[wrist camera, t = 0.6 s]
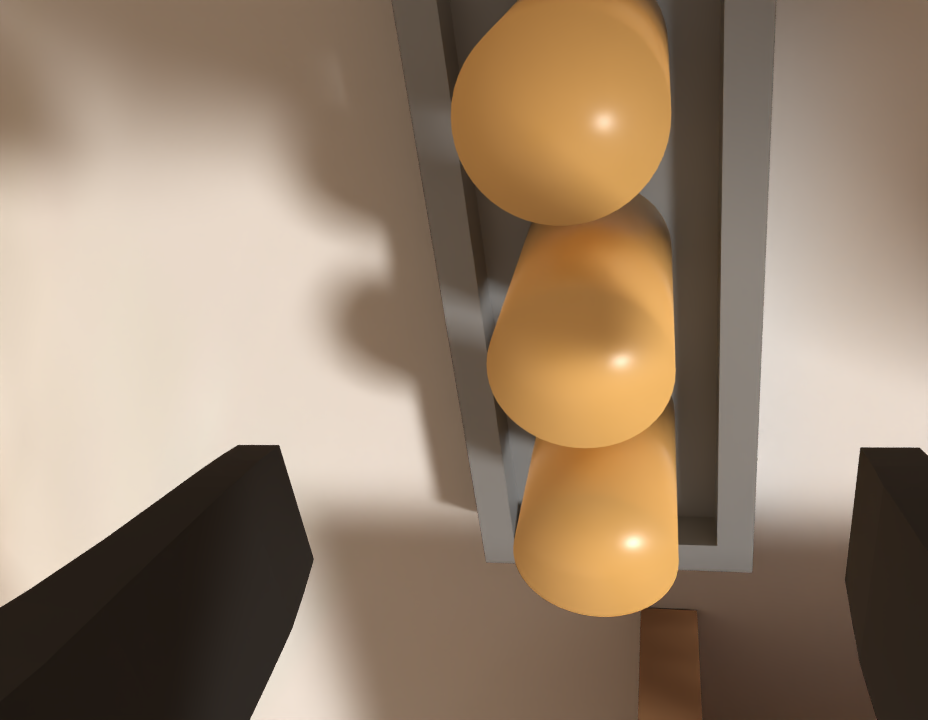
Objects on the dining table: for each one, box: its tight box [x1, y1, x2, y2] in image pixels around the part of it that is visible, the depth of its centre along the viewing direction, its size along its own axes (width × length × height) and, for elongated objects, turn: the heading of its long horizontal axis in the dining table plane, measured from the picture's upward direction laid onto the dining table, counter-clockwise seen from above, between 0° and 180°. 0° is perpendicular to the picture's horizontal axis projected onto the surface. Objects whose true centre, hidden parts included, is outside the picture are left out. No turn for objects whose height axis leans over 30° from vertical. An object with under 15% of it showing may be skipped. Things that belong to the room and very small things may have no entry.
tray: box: [392, 0, 776, 617], centre depth 15 cm, size 6×18×6 cm, turn 8°
